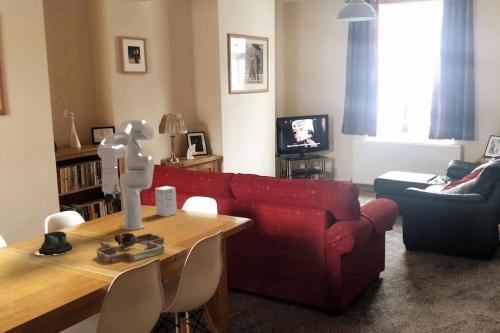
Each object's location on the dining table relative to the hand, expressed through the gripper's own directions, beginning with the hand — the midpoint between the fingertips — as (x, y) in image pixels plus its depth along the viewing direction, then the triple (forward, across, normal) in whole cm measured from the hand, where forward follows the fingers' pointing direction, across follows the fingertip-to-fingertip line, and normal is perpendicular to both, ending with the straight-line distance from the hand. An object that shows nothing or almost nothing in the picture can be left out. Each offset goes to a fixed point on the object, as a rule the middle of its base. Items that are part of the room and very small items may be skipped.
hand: (112, 204), depth 262 cm
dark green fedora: (+21, -11, -26) cm, 35 cm away
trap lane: (+20, +17, 0) cm, 26 cm away
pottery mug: (+21, +10, 0) cm, 23 cm away
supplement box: (+20, -30, +52) cm, 63 cm away
